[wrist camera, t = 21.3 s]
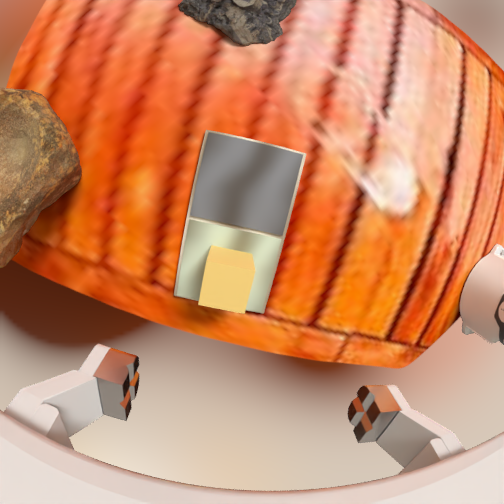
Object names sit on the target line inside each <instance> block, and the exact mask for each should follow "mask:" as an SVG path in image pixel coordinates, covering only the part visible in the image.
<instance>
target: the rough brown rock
mask: <svg viewBox="0 0 504 504" xmlns="http://www.w3.org/2000/svg"><path fill="white" fill-rule="evenodd" d="M80 177H81V166H80V160H79V156H78V152H77V150H76V148H75V146H74V144H73V141H72V139H71V137H70V135H69V133H68V131H67V128H66V126H65V125H64V123H63V122H62V121H61V120H60V118H59V117H58V116H57V114H56V113H55V112H54V111H53V110H52V108H51V107H50V104H49V102H48V101H47V100H46V98H45V97H44V96H43V95H41V94H39V93H37V92H34V91H32V90H19V89H8V88H1V87H0V268H1V267H5V266H6V265H7V264H8V262H9V261H10V260H11V259H12V258H13V257H14V256H15V255H16V254H17V253H18V252H19V250H20V247H21V245H22V237H23V235H24V234H26V233H27V232H28V231H29V230H30V228H31V226H32V225H33V224H34V223H35V221H36V220H37V218H38V216H39V214H40V212H41V211H42V210H43V209H45V208H47V207H49V206H50V205H51V204H53V203H54V202H55V201H57V199H58V198H59V197H61V196H62V195H63V194H64V193H66V192H67V191H69V190H70V189H71V188H73V187H74V186H75V185H76V184H77V183H78V182H79V180H80Z"/></svg>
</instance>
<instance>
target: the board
mask: <svg viewBox="0 0 504 504" xmlns="http://www.w3.org/2000/svg"><path fill="white" fill-rule="evenodd" d="M305 157H306V154H305V153H302V152H299V151H295V150H291V149H288V148H284V147H280V146H277V145H273V144H269V143H265V142H261V141H257V140H252V139H248V138H244V137H239V136H235V135H230V134H225V133H220V132H215V131H210V130H206V132H205V136H204V140H203V144H202V149H201V153H200V157H199V161H198V166H197V170H196V175H195V179H194V184H193V188H192V193H191V198H190V203H189V208H188V213H187V218H186V224H185V229H184V235H183V240H182V246H181V252H180V258H179V264H178V271H177V277H176V284H175V291H174V296H178V297H182V298H187V299H191V300H196V301H199V298H200V292H201V287H202V281H203V276H204V271H205V266H206V261H207V257H208V254H209V251H210V248H211V245H213V246H218V247H223V248H227V249H232V250H237V251H241V252H246V253H251V254H252V255H253V260H254V265H255V270H256V271H255V275H254V279H253V283H252V287H251V291H250V295H249V299H248V302H247V306H246V311H252V312H257V313H263V314H264V310H265V307H266V303H267V300H268V296H269V293H270V289H271V286H272V282H273V279H274V275H275V272H276V268H277V264H278V261H279V257H280V254H281V250H282V246H283V242H284V239H285V235H286V231H287V228H288V224H289V220H290V216H291V212H292V209H293V205H294V201H295V197H296V193H297V189H298V185H299V181H300V177H301V173H302V169H303V165H304V161H305Z"/></svg>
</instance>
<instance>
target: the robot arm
mask: <svg viewBox="0 0 504 504" xmlns="http://www.w3.org/2000/svg"><path fill="white" fill-rule="evenodd" d="M460 315H461V318H462V321H463V325H462V332H463V333H464V334H466V335H468V334H471V333H476V334H477V335H479V336H480V337H482V338H483V339H484V340H486V341H487V342H489V343H495V342H497V341H500V342H501V343H502V344H503V345H504V248H503V247H502V246H501V245H499V244H496V245H495V246H494V247H493V249H492V250H491V252H490V253H489V254H488V255H486V256H485V257H483V258H482V259H481V260H480V261H479V262H478V263H477V264H476V265H475V267H474V268H473V270H472V271H471V273H470V275H469V277H468V279H467V281H466V283H465V285H464V288H463V291H462V295H461V300H460ZM138 366H139V357H138V356H136V355H132V354H129V353H126V352H123V351H119V350H116V349H113V348H109V347H107V346H104V345H101V344H98V345H96V346H95V347H94V349H93V350H92V352H91V353H90V354H89V356H88V357H87V359H86V360H85V361H84V363H83V365H82V366H81V367H80V369H79V370H78V371H77V370H72V371H69V372H67V373H64V374H61V375H59V376H56V377H53V378H50V379H48V380H45V381H42V382H39V383H36V384H34V385H31V386H28V387H25V388H22V389H21V390H20V391H19V392H18V394H17V395H16V397H15V398H14V399H13V400H12V402H11V403H10V404H9V406H8V407H7V408H6V410H5V411H4V412H3V411H1V410H0V504H504V432H502V433H500V434H499V435H497V436H495V437H493V438H491V439H489V440H487V441H485V442H483V443H481V444H479V445H477V446H475V447H473V448H471V449H469V450H465V449H464V447H463V446H462V444H461V443H460V441H459V440H458V438H457V437H456V435H455V434H454V432H452V431H450V430H448V429H447V428H445V427H443V426H442V425H440V424H438V423H437V422H435V421H433V420H431V419H430V418H428V417H427V416H425V415H423V414H422V413H420V412H418V411H417V410H415V409H411V407H410V406H409V404H408V403H407V401H406V400H405V398H404V397H403V395H402V394H401V392H400V391H399V389H398V387H397V386H396V385H394V384H390V385H371V386H362V387H361V388H360V389H359V390H358V392H357V396H358V397H357V398H355V399H354V400H353V401H352V402H351V404H350V406H349V408H348V419H349V421H350V423H351V424H352V425H354V426H355V428H354V430H353V431H354V434H355V436H356V439H357V441H358V443H363V442H374V441H376V443H377V444H378V445H379V446H380V447H382V448H383V449H384V450H385V451H386V452H387V453H388V454H389V455H391V456H392V457H393V458H394V459H395V460H396V461H397V462H398V463H399V464H400V465H402V466H403V467H404V469H403V470H402V471H401V472H400V473H399V474H398V475H395V476H391V477H387V478H382V479H378V480H373V481H368V482H364V483H357V484H352V485H345V486H338V487H331V488H321V489H309V490H292V491H251V490H234V489H221V488H213V487H204V486H198V485H191V484H185V483H180V482H175V481H169V480H165V479H160V478H156V477H152V476H148V475H144V474H140V473H137V472H133V471H130V470H126V469H123V468H119V467H117V466H114V465H111V464H108V463H105V462H102V461H99V460H97V459H94V458H91V457H89V456H86V455H84V454H81V453H79V452H77V451H75V450H74V448H73V446H72V444H71V441H70V439H69V437H70V436H72V435H74V434H75V433H77V432H78V431H80V430H82V429H83V428H85V427H86V426H88V425H89V424H91V423H92V422H94V421H95V420H97V419H98V418H100V417H102V416H103V414H104V415H108V416H111V417H114V418H118V419H121V420H125V421H126V420H127V418H128V415H129V413H130V410H131V400H133V399H135V397H136V394H137V390H138V386H139V373H138V372H137V369H138Z"/></svg>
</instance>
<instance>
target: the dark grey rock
mask: <svg viewBox="0 0 504 504" xmlns="http://www.w3.org/2000/svg"><path fill="white" fill-rule="evenodd" d="M295 3H296V0H183V1H182V2H181V3H180V4H179V5H178V6H179V7H180V11H184V13H185V14H186V15H189V16H191V17H194V18H195V19H196V20H198V21H200V22H207V23H208V24H210V25H214V26H215V27H216V28H218V29H220V30H221V31H222V32H223V33H225V34H226V35H227V36H229V37H230V38H231V39H232V40H233V42H236V43H238V44H240V45H246V46H249V45H250V44H253V43H261V42H262V43H265V44H268V43H269V42H270V41H275V39H276V38H277V37H279V36H280V35H282V34H283V32H282V28H281V27H280V24H279V22H281V21H282V20H284V19H285V18H286V17H287V16H288V15H289V14H290V12H291V8H293V7H294V6H295Z"/></svg>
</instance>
